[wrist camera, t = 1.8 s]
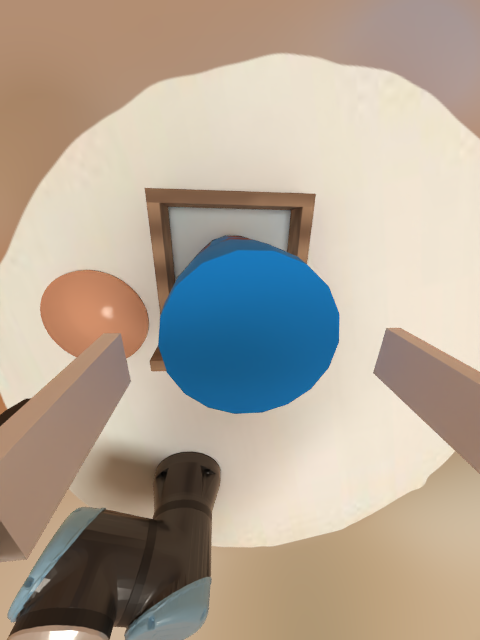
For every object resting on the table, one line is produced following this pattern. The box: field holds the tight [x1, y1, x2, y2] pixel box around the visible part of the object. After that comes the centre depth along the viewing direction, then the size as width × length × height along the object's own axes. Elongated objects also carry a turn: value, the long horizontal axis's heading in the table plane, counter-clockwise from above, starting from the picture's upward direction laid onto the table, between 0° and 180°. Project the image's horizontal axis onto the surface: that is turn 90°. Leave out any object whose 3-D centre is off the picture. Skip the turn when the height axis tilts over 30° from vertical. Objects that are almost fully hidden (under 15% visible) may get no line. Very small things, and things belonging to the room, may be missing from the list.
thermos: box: [158, 236, 339, 414], centre depth 24 cm, size 11×11×25 cm
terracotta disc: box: [40, 270, 149, 358], centre depth 36 cm, size 16×16×1 cm
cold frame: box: [145, 188, 316, 371], centre depth 30 cm, size 21×21×12 cm
